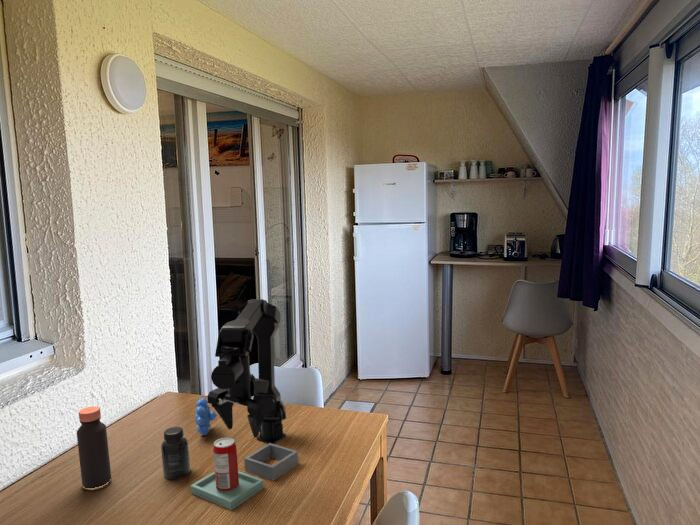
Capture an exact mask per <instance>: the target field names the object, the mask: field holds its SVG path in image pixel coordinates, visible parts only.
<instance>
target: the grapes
mask: <svg viewBox="0 0 700 525" xmlns="http://www.w3.org/2000/svg"><path fill="white" fill-rule="evenodd" d="M195 406H196V409H195V411H194V413H195V416H194V418H195V419H196V420H195V421H194V422H195V424H196V425H197V426H198V427H197V428H196V431H197V432H198V433H199V434H200V435H201V436H203V435H205V436H207V434H208V433H209V432H210V429H209V428H210V427H211V424H210V423H211V421H215V419H216V418H217V416H218V413H216V411H213V410H211V411H210V409H211V408H210V407H211V406H209V403H208V399H206V398H205V397H201V398H200V399H198V400H197V401H196V403H195Z"/></svg>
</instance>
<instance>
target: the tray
mask: <svg viewBox="0 0 700 525" xmlns="http://www.w3.org/2000/svg"><path fill="white" fill-rule="evenodd" d="M238 476H239V485H238V486H237V488H236V489H235V490H233V491H230V492H220V491H219V490H217V488H216V480H215V471H213V472H212V473H209V474H208V475H206V476H205V477H202V478H201V479H199V480H197V481H196V482H194V483H192V484H191V485H190V493H191V494H192V495H195V496H197V497H199V498H201V499H204V500H207V501H208V502H211V503H214V504H216V505H218V506H221V507H223V508H226V509H228V510H234V509H235V508H236V507H238V506H239V505H241V504H242V503H243V502H246V501H247V500H248V499H250V498H251V497H253V496H254V495H255V494H256V493H258V492H260V491H261V490H262V489H264V488H265V484H264V482H265V481H264V479H262V478H259V477H256V476H254V475H251V474H248V473H245V472H242V471H240V470H238Z"/></svg>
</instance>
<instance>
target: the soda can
mask: <svg viewBox="0 0 700 525" xmlns="http://www.w3.org/2000/svg"><path fill="white" fill-rule="evenodd" d="M236 444H237V443H236V442H235V439H234V438H232V437H221V438H218V439H216V440H215V441H214V442H213V449H212V452H213V465H214V466H213V467H214V472H215V480H216V488H217V490H219V491H220V492H230V491H233V490H235V489H236V488H237V486H238V485H239V476H238V471H239V466H238V451H237V445H236Z"/></svg>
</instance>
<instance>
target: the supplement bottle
mask: <svg viewBox="0 0 700 525" xmlns="http://www.w3.org/2000/svg"><path fill="white" fill-rule="evenodd" d="M160 452H161V460H162V472H163V477H164V478H165V477H166V479H167V478H168V479H167V480H178V479H182V478H184V477H186V476H187V474H188V475H189V473H191V461H190V460H191V459H190V450H189V441H188V438H186V437H185V434H184V428H183V427H181V426H172V427H169V428H167V429H165V430H164V431H163V441H162V442H161V446H160Z"/></svg>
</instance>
